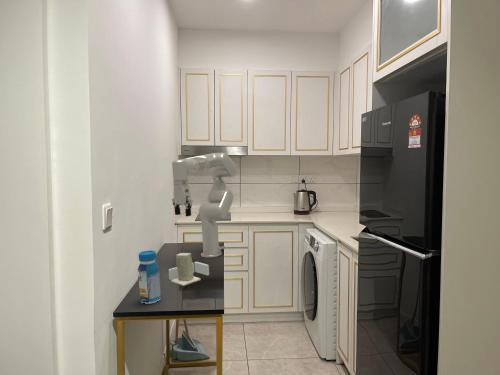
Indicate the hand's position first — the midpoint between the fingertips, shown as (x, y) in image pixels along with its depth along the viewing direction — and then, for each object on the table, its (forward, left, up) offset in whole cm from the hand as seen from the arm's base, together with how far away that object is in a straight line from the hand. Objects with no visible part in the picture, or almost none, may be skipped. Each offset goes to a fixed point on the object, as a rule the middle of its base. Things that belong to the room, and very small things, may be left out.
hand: (183, 215), depth 181 cm
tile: (+13, +18, -28) cm, 36 cm away
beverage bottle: (+36, +26, -28) cm, 53 cm away
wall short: (+2, +15, -28) cm, 32 cm away
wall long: (+10, +10, -28) cm, 32 cm away
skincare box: (+13, +18, -28) cm, 35 cm away
